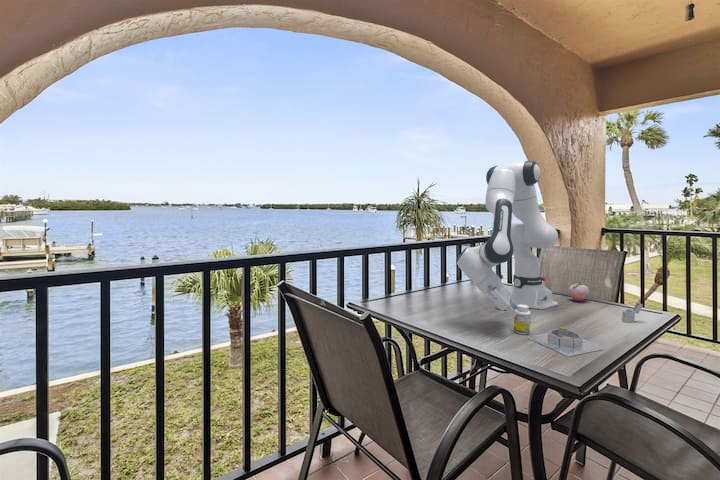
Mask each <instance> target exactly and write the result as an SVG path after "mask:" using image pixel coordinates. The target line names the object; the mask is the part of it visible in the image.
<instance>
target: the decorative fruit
mask: <svg viewBox="0 0 720 480" xmlns="http://www.w3.org/2000/svg"><path fill="white" fill-rule="evenodd" d="M568 294H569V296H570V298H572V299H574V300H575V301H576V302H581V301H583V300H585V299H586V298H588V297H589V294H590V289H589V287H588V285H587V284H586V283H584V282H580V281H578V283H574V284H572V285H570V286H569V288H568Z"/></svg>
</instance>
